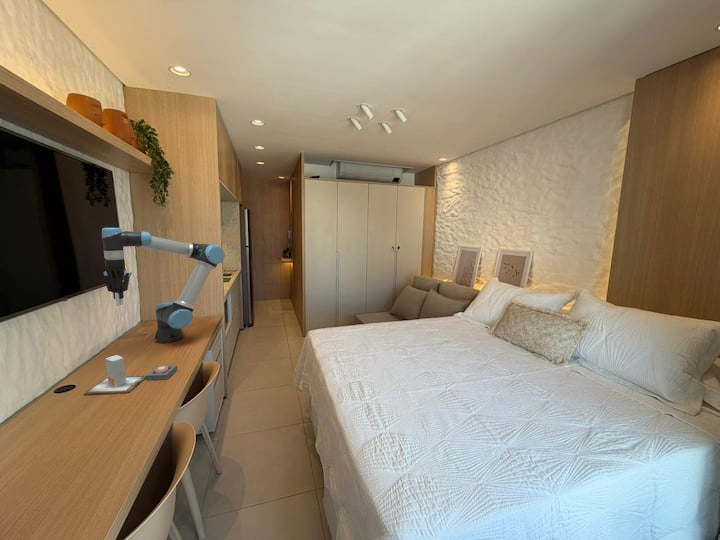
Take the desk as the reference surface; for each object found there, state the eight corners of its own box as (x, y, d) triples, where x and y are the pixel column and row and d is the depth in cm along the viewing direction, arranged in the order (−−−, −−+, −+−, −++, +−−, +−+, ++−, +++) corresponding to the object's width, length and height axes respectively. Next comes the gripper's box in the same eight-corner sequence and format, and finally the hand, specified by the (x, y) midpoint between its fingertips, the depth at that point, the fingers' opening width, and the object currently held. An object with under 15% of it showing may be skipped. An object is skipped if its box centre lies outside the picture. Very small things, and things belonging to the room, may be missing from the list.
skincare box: (107, 384, 124) (104, 358, 122) (119, 379, 128) (116, 354, 126) (115, 387, 121) (112, 361, 120) (126, 383, 125) (124, 357, 124)
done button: (159, 371, 136) (158, 365, 136) (170, 371, 137) (170, 365, 137) (153, 376, 132) (152, 370, 131) (165, 376, 132) (164, 370, 132)
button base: (157, 370, 138) (157, 366, 138) (177, 370, 139) (176, 365, 139) (146, 380, 129) (145, 375, 129) (167, 379, 131) (167, 374, 130)
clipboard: (107, 379, 130) (107, 376, 130) (147, 377, 132) (147, 374, 132) (83, 395, 117) (83, 392, 117) (128, 393, 119) (128, 390, 119)
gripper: (94, 259, 137) (99, 307, 141) (123, 259, 139) (128, 306, 142) (105, 258, 145) (110, 303, 148) (133, 258, 146) (138, 302, 150)
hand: (119, 304), depth 145 cm, fingers closed
